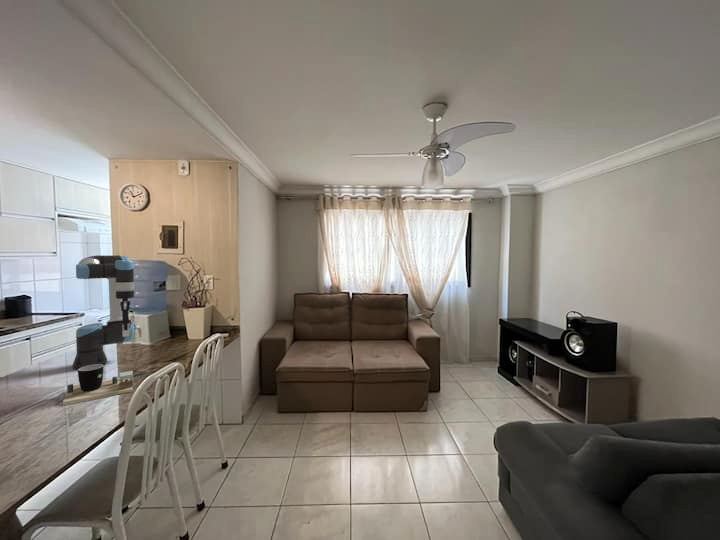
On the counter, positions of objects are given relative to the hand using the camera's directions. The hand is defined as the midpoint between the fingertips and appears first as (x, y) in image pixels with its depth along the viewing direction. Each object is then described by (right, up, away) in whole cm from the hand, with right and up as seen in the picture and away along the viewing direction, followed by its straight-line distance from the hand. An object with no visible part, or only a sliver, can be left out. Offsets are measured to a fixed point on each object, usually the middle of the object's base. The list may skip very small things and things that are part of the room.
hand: (126, 336), depth 160 cm
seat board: (-2, -23, -13) cm, 26 cm away
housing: (+7, -21, -10) cm, 24 cm away
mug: (-5, -22, -13) cm, 26 cm away
